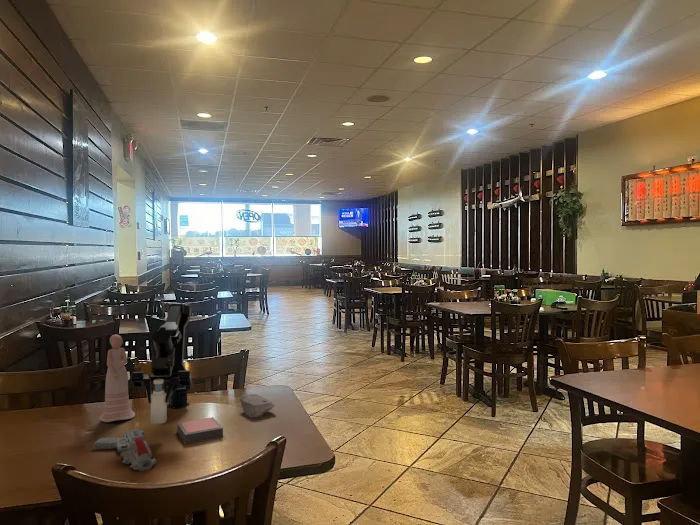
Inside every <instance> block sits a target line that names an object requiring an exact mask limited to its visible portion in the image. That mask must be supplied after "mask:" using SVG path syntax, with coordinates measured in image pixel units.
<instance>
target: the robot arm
mask: <svg viewBox="0 0 700 525" xmlns="http://www.w3.org/2000/svg"><path fill="white" fill-rule="evenodd" d="M192 311H193V310H192V307H191V305H187V304H184V303H182V302H171V303H169V305H168V306H167V316H166V318H165V319H166V320H165V322H164V324H161V325H160V326H159V329H158V330H156V331H155V332H154V333H153V334H152V336H151V337H152V342H153V346H154V349H155V351H156V354H155V355H156V356H155V357H152V358H151V360H150V369H151V374H152V375H151V374H145V371H133V372H131V374H130V376H129V380H130V384H131V386H132V387H133V388H142V389H143V390H146V395H147V401H148V404H151V394H152V393H153V386H152V385H153V384H152V382H153V383H154V380H155V379H163V380H164V392H166V393H167V394H166V400H165V402H166V403H167V408H171V409H181V408H183V407H185V406H189V405H190V402H188V394H187V392H188V391H190V390H191V389H192V388H191V385H192V380H193V377H192V373H191V371H190V370H187V369H186V367H185V365H184V358H185V355H184V354H185V341H186V339H185V336H186V327H187V326H188V324H189V323H190V318H191V317H192Z"/></svg>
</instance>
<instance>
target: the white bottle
mask: <svg viewBox="0 0 700 525" xmlns="http://www.w3.org/2000/svg"><path fill="white" fill-rule="evenodd" d="M153 384H154V390H152V394H151V402H150V424H152V425H161V424H164V423H166V422H167V421H168V418H167V416H168V415H167V414H168V413H167V411H168V410H167V409H168V407H167V404H168V402H167V403H166V402H165V400H166V394H167V392H165V389H163V384H165V382H164V380H163V379H155V380H154V382H153Z"/></svg>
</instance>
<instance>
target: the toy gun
mask: <svg viewBox="0 0 700 525" xmlns="http://www.w3.org/2000/svg"><path fill="white" fill-rule="evenodd" d="M92 447H93V451H97V450H113V449H116V450H117V452H118V453H121V454H120V457H122V459H123V460H122V461H121V462H122V464H125V465H130V464H131V465H130V466H129V467H130V469H131V468H132V469H133V470H134V471H141V472H142V471H147V470H151V469H152V468H153V466H154V464H156V463H157V460H156V458H152V457H153V452H152V449H151V448H150V445H149V443H148V441H147V440H145V430H144V429H142V430H141V429H140V428H136V429H131V430H128V431H126V432H125V434H123V437H100V438H99V439H98V440H96V441H95V442H94V443H93V446H92Z"/></svg>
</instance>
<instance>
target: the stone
mask: <svg viewBox="0 0 700 525" xmlns="http://www.w3.org/2000/svg"><path fill="white" fill-rule="evenodd" d="M239 401H240V404H241V408H242V412H244V413H245V415H246V416H248V417H249V418H251V419H253V418H254V419H255V418H256V419H257V418H261V417H262V416H263V415H264V414H266V413H267V412H269V411H271V410H272V409H273V408H274V407H275V404H274V403H273V402H272V401H271V400H270V399H269V398H266V397H264V396H262V395H258V393H257V394H256V393H250V394H243V395H240V397H239Z"/></svg>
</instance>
